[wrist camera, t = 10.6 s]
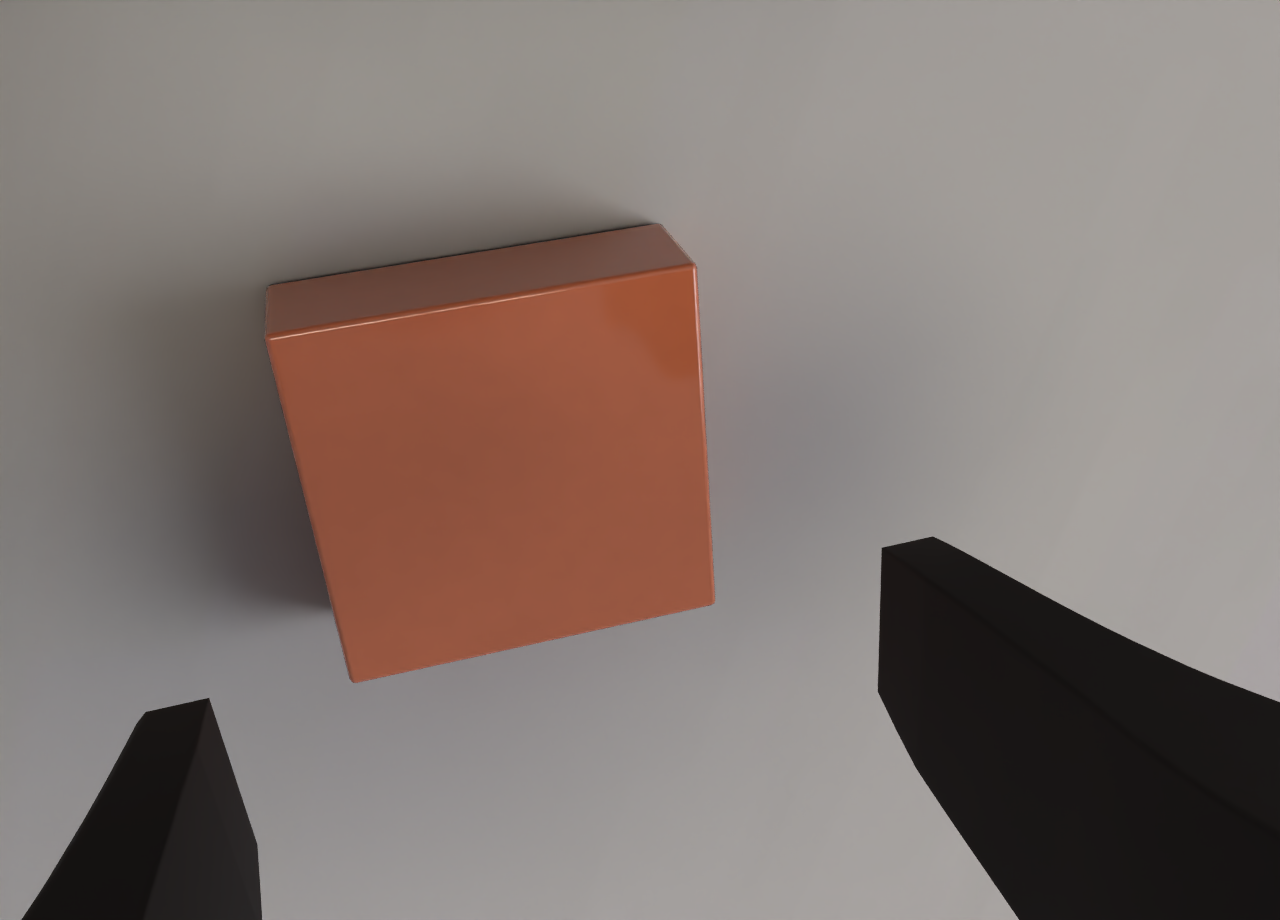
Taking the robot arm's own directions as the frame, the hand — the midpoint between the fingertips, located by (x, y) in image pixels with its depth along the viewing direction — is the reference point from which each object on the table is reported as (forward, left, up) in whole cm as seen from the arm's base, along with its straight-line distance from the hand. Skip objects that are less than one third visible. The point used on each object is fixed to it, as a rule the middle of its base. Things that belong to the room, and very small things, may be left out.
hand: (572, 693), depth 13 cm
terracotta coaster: (0, 0, -6) cm, 6 cm away
